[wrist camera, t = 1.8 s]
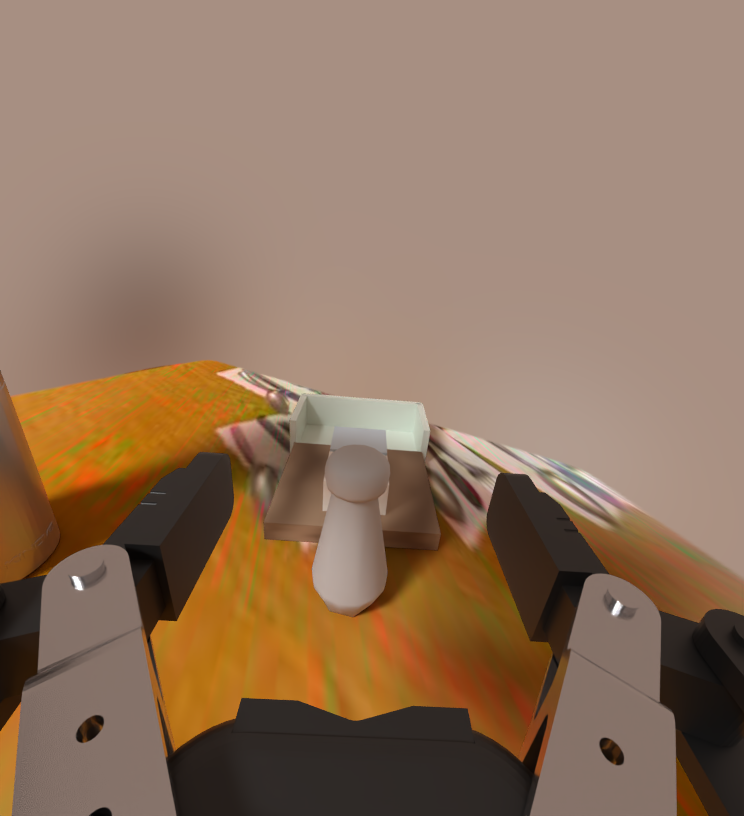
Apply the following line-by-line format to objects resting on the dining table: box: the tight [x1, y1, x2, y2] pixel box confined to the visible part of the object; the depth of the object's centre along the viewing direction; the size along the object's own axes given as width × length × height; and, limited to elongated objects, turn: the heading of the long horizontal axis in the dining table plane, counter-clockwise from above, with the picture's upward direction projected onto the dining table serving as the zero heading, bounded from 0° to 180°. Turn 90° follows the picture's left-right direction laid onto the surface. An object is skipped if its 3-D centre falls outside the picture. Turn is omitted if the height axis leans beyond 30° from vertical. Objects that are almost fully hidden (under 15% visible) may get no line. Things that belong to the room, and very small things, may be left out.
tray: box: [290, 393, 430, 462], centre depth 49 cm, size 17×8×5 cm, turn 90°
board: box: [264, 442, 441, 550], centre depth 40 cm, size 16×14×2 cm
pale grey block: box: [330, 426, 387, 456], centre depth 41 cm, size 6×5×4 cm
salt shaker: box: [312, 444, 390, 617], centre depth 26 cm, size 6×6×13 cm
